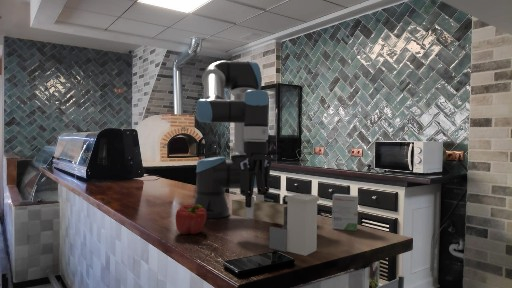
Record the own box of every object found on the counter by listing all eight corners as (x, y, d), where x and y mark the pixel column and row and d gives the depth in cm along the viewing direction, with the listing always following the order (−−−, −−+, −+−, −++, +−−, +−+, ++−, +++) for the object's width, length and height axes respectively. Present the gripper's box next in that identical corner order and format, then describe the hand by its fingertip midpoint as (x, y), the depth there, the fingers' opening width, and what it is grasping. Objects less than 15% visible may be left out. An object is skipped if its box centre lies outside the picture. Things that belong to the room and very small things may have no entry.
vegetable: (214, 233, 118) (214, 203, 118) (188, 239, 111) (188, 207, 111) (194, 227, 126) (195, 199, 126) (168, 232, 118) (169, 202, 118)
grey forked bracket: (269, 247, 104) (270, 194, 103) (284, 242, 110) (284, 192, 109) (305, 256, 96) (306, 199, 96) (319, 250, 102) (319, 196, 102)
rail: (231, 215, 115) (231, 199, 115) (240, 213, 118) (240, 198, 118) (286, 225, 102) (286, 207, 102) (293, 222, 105) (293, 205, 105)
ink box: (331, 228, 127) (332, 195, 126) (333, 225, 131) (333, 193, 131) (356, 231, 124) (357, 196, 124) (357, 227, 129) (358, 194, 128)
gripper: (247, 140, 102) (246, 223, 103) (281, 141, 116) (280, 214, 116) (227, 140, 107) (227, 219, 107) (263, 140, 120) (262, 211, 121)
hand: (254, 216), depth 112 cm, fingers closed on rail, 4 cm apart
